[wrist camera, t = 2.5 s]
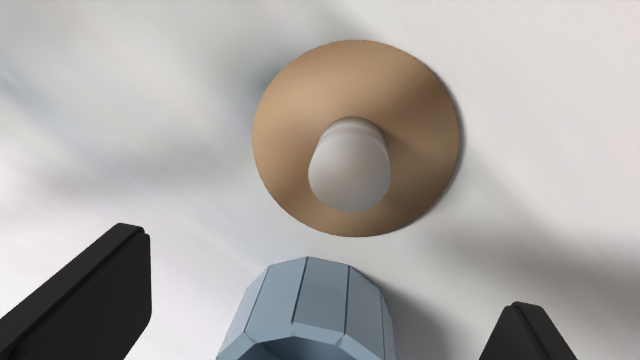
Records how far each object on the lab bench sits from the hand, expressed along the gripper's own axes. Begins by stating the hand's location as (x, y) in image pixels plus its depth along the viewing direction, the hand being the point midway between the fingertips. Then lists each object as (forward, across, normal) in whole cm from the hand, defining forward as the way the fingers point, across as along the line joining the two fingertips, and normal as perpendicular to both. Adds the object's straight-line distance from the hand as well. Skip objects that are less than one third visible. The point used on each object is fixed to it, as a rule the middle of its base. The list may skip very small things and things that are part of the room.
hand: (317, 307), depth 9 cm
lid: (+14, -1, 0) cm, 14 cm away
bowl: (+13, -1, +14) cm, 19 cm away
